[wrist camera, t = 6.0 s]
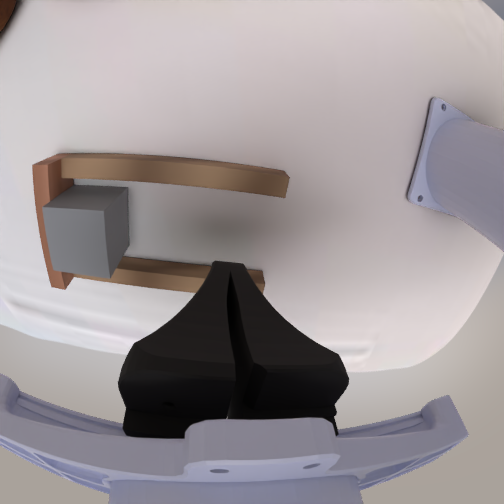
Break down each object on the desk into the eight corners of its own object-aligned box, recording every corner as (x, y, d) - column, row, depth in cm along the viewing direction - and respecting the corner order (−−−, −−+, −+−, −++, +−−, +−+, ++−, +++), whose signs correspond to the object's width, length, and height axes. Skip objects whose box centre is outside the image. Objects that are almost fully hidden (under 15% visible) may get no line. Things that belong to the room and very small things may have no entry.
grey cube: (128, 187, 15) (103, 211, 12) (129, 244, 17) (110, 278, 14) (74, 184, 15) (42, 207, 11) (79, 239, 17) (53, 270, 13)
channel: (284, 171, 16) (296, 185, 13) (259, 285, 20) (264, 313, 17) (58, 153, 14) (32, 165, 11) (68, 263, 17) (51, 287, 15)
